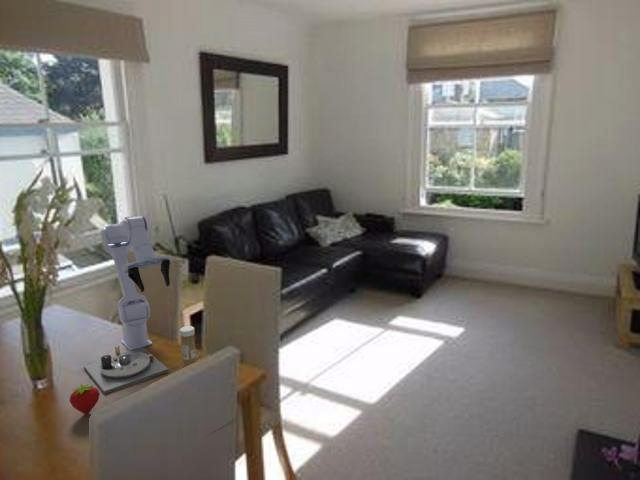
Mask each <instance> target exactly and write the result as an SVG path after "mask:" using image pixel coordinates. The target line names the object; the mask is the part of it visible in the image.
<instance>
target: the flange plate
mask: <svg viewBox="0 0 640 480" xmlns="http://www.w3.org/2000/svg"><path fill="white" fill-rule="evenodd" d="M130 351H131V352H130ZM130 351H123V352H120V353H119V354H116V353H115V354H113V355H111V354H106V355H103V356H101V357H100V361H101V365H100V371H101V374H102V375H103V376H105V377H107V378H113V379H120V378H127V377H131V376H135V375H137V374H140V373H141V372H143V371H145V370H146V369H147V368H148V367H149V365H150V360H153V356H154V355H153V354H152V353H151V354H150V355H147V354H145V353H143V352H136V351H133V350H130Z"/></svg>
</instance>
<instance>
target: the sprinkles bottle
mask: <svg viewBox="0 0 640 480" xmlns="http://www.w3.org/2000/svg"><path fill="white" fill-rule="evenodd" d="M179 334H180V342H181V345H180V346H181V354H182V355H181V357H182V367H183V368H184V367H185V366H188V365H190V364H192V363H195V362H196V363H197V352H196V342H195V341H196V340H195V339H196V338H195V327H194V326H192V325H185V326H183V327H181V328H180V329H179Z"/></svg>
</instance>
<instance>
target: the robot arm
mask: <svg viewBox="0 0 640 480" xmlns="http://www.w3.org/2000/svg"><path fill="white" fill-rule="evenodd" d="M147 222H148V221H147V219H146V217H145V216H144V215H141V216H134V215H130V216H129V215H128V216H125V217H124V219H122V220H121V221H120V222H119V223H114V224H113V223H112V224H111V225H107V226H104V227H103V228H102V229H101V232H100V233H101V240H102V244H103V248H104V250H105V253H107V254H110V255H111V257H112V259H113V262H114V266H115V270H116V273H117V274H116V275H117V278H118V282H119V285H120V289H121V293H122V298H121V299H119V301H118V302H117V305H116V307H117V314H118V319H119V321H120V322H121V323H122V324H121V325H122V334H123V335H122V336H123V339H121V341H120V342H121V343H122V344H123V345H124V346H125V347H126V348H127V349H128V350H129V351H133V350H136V349H140V348H143V347H144V348H145V347H147V346H150V345H152V344H153V342H152V341H151V340H150V339H148V329H147V321H148V318H150V316H151V309H150V308H151V307H150V304H149V302H148V300H147V297H146V296H145V295H143V294H141V293H143V292H145V285H144V284H143V280H142V277H141V275H140V270H147V269H149V268H153V267H158V266H160V272H161V274H162V276H163V280H164V283H165V286H166V287H169V286H170V284H171V281H170V265H172V264H173V259H172V255H165V256H164V255H160V256H159V255H158V256H156V254H155V251H154V249H153V245H152V243H151V239H150V235H149V233H148V223H147ZM131 249H132V252H133V254H134V256H135V261H132V262H130V263H129V259H128V256H127V252H128V251H130V250H131ZM136 286H137V287H138V288H139V290H140V292H141V293H139V292H137V289H136Z"/></svg>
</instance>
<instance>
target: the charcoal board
mask: <svg viewBox="0 0 640 480" xmlns="http://www.w3.org/2000/svg"><path fill="white" fill-rule="evenodd" d="M131 351H136V352H143V353H145V354H147V355H150V354H152V353H151V352H150V351H149V350H148V349H147V348H145V346H144V347H141V348H138V349H134V350H129V352H131ZM100 365H101V360H98V361H94V362H92V363H89V364H86V365H85V364H84V365H83V370H84V371H85V372H86V373H87V374H88V375H89V376H90V378H91V379H92V380H93V382H94V383H95V384H96V385H97V387H98V389H100V391H102V393H103V394H104V395H106V394H109V393H112V392H115V391H118V390H121V389H123V387H124V388H127V387H129V386H132V385H134V384H138V383H141V382H143V380H144V381H146V380H149V379H152V378H155V377H157V376H158V377H159V376H160V375H163V374H165V373H168V372H169V368H168V367H167V366H166V365H165V364H163V362H161V361H160V360H159V359H157V357H156V356H155V355H153V360H150V365H149V367H148V368H147V369H146V370H145V371H143V372H141V373H140V374H137V375H135V376H131V377H127V378H120V379H113V378H107V377H105V376H103V375H102V374H101V371H100ZM126 386H127V387H126ZM120 388H121V389H120Z"/></svg>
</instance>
